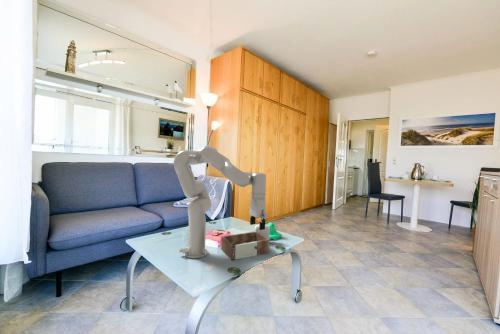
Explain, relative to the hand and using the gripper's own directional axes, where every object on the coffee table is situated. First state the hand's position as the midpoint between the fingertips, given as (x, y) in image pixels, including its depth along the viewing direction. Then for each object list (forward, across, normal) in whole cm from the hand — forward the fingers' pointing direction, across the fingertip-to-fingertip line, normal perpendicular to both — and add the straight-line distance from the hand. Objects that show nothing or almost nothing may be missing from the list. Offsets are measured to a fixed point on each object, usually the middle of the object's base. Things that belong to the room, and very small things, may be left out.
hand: (257, 226), depth 118 cm
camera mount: (+19, -25, +29) cm, 43 cm away
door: (+18, -5, -4) cm, 19 cm away
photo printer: (+19, -21, +17) cm, 33 cm away
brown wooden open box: (+19, -13, 0) cm, 23 cm away
